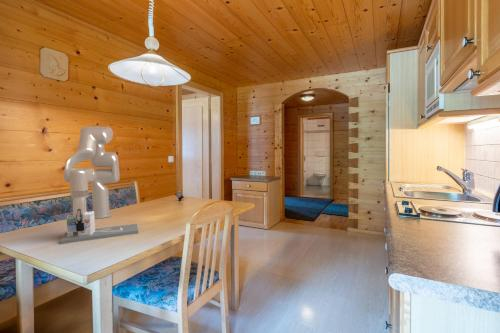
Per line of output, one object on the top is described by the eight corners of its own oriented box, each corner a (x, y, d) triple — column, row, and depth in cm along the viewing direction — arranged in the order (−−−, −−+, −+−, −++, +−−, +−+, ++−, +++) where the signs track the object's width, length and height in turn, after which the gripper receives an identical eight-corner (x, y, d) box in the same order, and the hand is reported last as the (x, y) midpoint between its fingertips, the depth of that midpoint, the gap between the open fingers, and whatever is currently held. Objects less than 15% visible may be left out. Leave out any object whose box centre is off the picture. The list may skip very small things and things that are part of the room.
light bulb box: (67, 237, 129) (65, 215, 128) (72, 233, 135) (71, 212, 135) (91, 235, 132) (90, 213, 131) (95, 231, 138) (94, 210, 138)
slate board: (65, 235, 136) (65, 232, 136) (136, 226, 151) (136, 223, 151) (60, 244, 124) (59, 240, 124) (138, 233, 139) (138, 230, 139)
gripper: (73, 192, 138) (75, 225, 140) (67, 197, 123) (69, 234, 124) (90, 191, 142) (92, 223, 143) (86, 196, 126) (88, 232, 127)
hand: (81, 228), depth 133 cm, fingers closed on light bulb box, 7 cm apart
